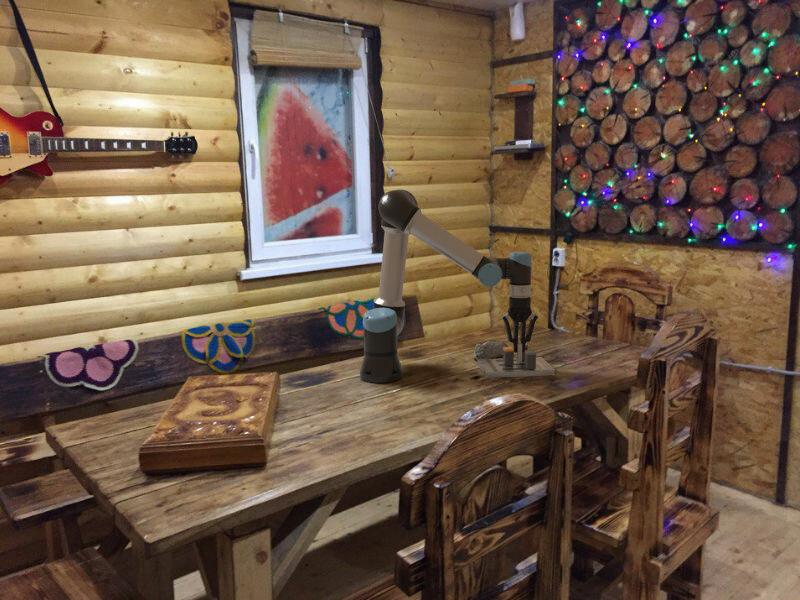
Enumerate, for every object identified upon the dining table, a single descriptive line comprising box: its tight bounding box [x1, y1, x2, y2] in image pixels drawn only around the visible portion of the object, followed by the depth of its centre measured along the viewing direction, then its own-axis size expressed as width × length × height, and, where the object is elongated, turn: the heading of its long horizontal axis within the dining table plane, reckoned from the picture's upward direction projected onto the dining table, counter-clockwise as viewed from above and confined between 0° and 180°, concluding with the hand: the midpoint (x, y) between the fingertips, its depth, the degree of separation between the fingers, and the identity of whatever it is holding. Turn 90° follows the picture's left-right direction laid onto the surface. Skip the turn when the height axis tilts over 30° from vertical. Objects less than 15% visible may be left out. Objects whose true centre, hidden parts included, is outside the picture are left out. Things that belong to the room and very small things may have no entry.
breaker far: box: [522, 343, 529, 360], centre depth 238 cm, size 3×4×6 cm
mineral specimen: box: [472, 340, 509, 361], centre depth 250 cm, size 16×7×7 cm, turn 119°
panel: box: [477, 356, 556, 379], centre depth 233 cm, size 24×17×2 cm
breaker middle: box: [502, 346, 515, 365], centre depth 232 cm, size 3×4×6 cm
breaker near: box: [525, 349, 537, 369], centre depth 227 cm, size 3×4×6 cm
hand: (518, 361), depth 233 cm, fingers closed
